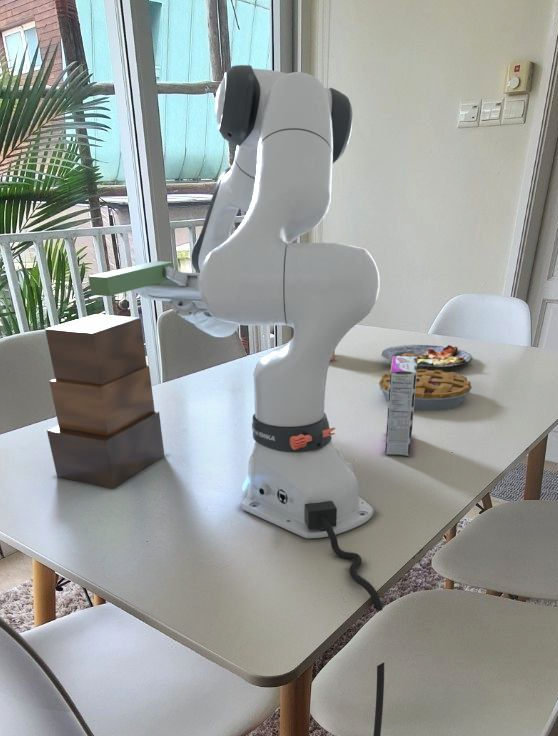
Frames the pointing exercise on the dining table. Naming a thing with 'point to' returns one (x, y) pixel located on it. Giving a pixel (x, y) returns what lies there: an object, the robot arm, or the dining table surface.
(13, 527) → the dining table surface
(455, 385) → the pie
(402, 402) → the candy bar box
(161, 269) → the green bar
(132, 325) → the block stack
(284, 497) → the robot arm
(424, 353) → the food plate
